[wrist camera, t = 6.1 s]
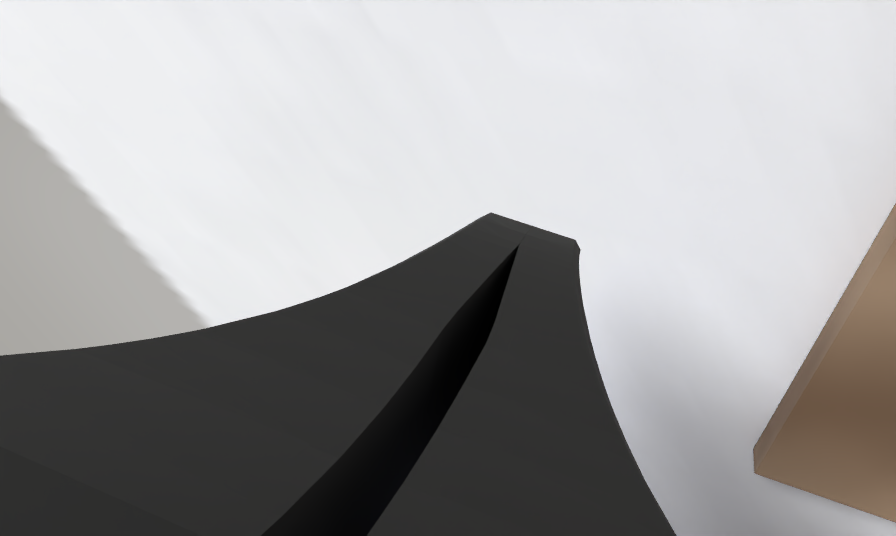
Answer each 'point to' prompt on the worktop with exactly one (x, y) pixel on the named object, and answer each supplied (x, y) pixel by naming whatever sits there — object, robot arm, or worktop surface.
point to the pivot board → (845, 397)
